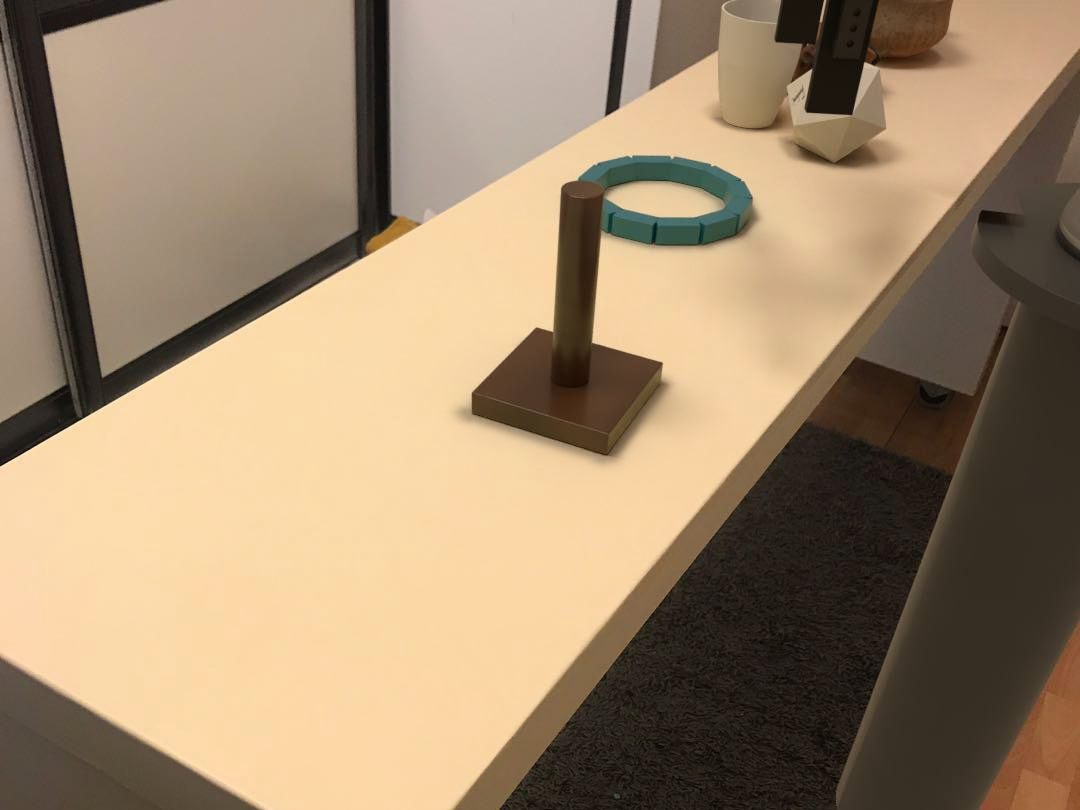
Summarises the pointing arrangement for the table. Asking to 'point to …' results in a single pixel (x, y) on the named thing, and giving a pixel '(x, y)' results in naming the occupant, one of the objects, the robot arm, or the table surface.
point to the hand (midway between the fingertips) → (809, 75)
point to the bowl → (909, 26)
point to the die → (838, 118)
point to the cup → (753, 63)
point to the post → (571, 350)
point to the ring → (672, 227)
